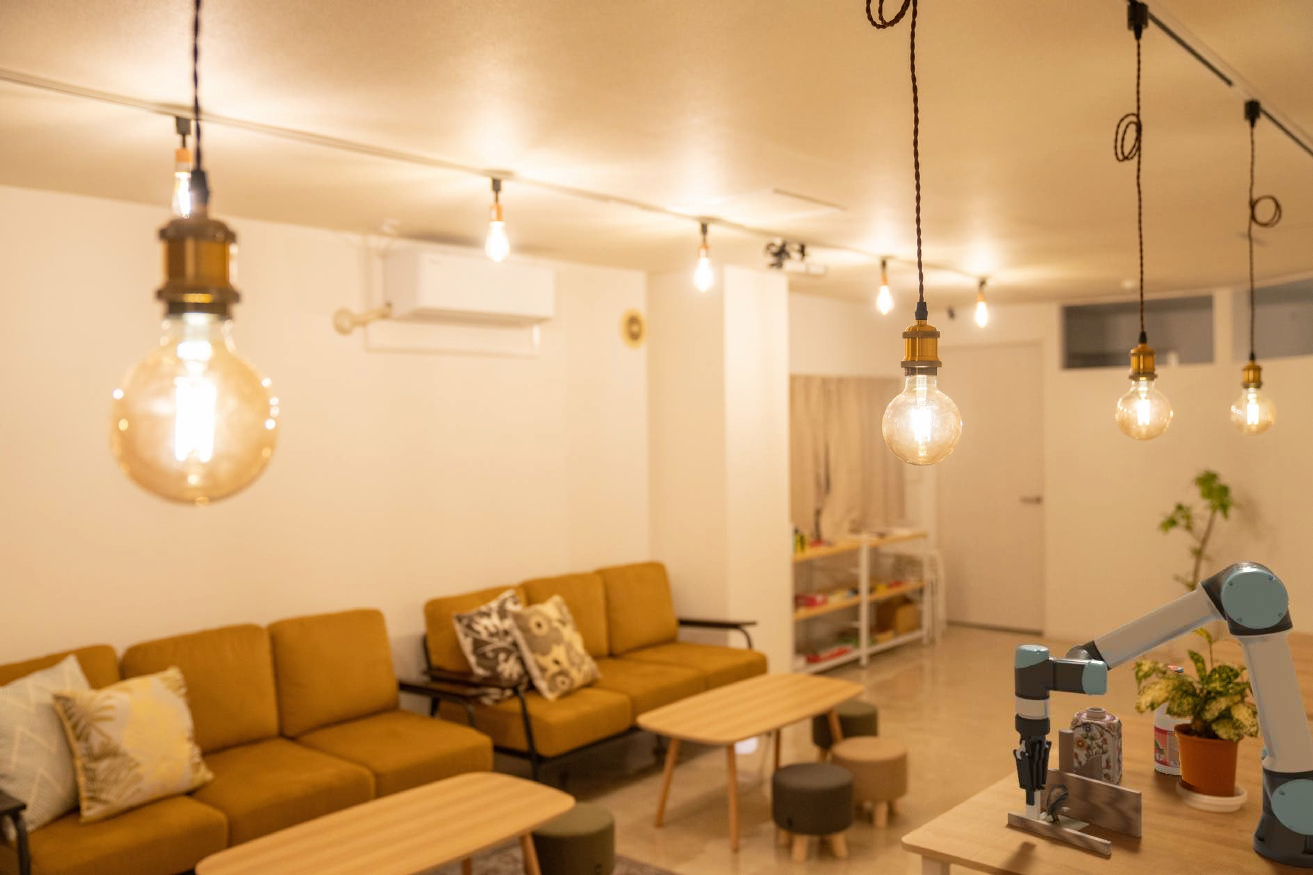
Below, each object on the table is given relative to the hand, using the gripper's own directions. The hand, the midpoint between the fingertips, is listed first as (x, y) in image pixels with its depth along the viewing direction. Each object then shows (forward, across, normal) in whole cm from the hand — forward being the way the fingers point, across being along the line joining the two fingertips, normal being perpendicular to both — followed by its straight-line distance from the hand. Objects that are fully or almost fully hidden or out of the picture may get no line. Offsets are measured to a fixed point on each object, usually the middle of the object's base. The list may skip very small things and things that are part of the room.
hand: (1033, 817), depth 233 cm
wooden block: (+5, -25, -2) cm, 25 cm away
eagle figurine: (0, -13, 0) cm, 13 cm away
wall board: (+4, -11, +4) cm, 13 cm away
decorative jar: (+5, -50, -10) cm, 51 cm away
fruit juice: (+5, -69, +2) cm, 69 cm away
